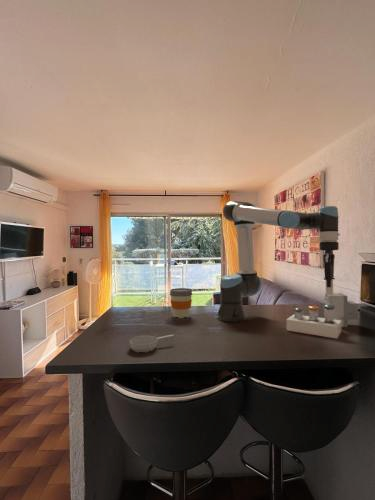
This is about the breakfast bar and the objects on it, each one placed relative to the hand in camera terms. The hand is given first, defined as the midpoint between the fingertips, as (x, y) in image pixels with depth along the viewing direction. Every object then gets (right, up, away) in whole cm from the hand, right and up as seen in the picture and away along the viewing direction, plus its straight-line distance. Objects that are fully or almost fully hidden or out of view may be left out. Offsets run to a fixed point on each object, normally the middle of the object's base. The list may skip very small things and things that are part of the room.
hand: (329, 294), depth 124 cm
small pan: (-77, -19, -14) cm, 81 cm away
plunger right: (0, -14, 0) cm, 14 cm away
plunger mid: (-5, -15, +4) cm, 17 cm away
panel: (-5, -18, +4) cm, 19 cm away
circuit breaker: (+13, -17, +13) cm, 25 cm away
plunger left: (-10, -17, +8) cm, 21 cm away
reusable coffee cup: (-67, -18, +34) cm, 77 cm away
